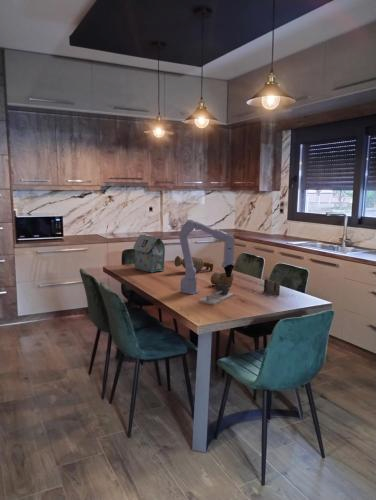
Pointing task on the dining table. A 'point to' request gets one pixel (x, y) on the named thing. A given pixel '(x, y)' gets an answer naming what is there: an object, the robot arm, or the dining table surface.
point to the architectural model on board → (271, 286)
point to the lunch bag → (149, 253)
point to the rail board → (216, 298)
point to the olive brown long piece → (196, 261)
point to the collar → (222, 288)
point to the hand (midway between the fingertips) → (228, 277)
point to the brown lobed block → (222, 279)
